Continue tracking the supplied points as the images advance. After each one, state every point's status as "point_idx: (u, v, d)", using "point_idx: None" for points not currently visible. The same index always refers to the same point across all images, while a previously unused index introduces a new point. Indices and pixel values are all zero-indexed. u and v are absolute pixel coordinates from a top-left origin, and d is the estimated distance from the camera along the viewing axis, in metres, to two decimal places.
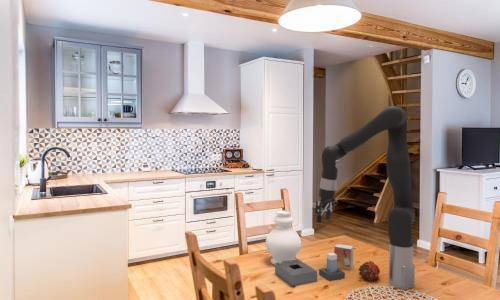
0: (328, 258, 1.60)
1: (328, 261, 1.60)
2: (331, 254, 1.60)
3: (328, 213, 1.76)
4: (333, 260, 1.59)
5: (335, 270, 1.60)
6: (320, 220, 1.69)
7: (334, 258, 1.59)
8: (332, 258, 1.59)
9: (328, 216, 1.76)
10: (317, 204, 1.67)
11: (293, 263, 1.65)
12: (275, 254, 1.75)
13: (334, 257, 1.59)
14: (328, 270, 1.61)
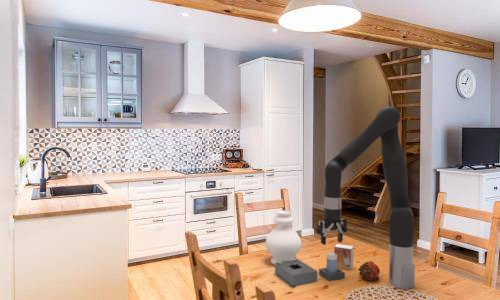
0: (328, 258, 1.60)
1: (328, 261, 1.60)
2: (331, 254, 1.60)
3: (339, 235, 1.62)
4: (333, 260, 1.59)
5: (335, 270, 1.60)
6: (324, 241, 1.58)
7: (334, 258, 1.59)
8: (332, 258, 1.59)
9: (339, 238, 1.62)
10: (318, 224, 1.58)
11: (293, 263, 1.65)
12: (275, 254, 1.75)
13: (334, 257, 1.59)
14: (328, 270, 1.61)
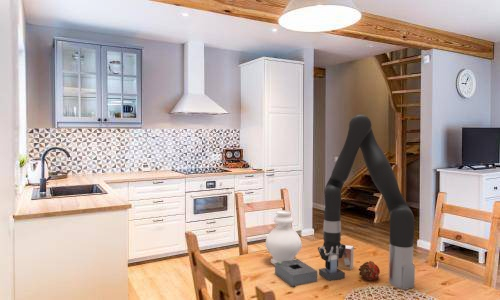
0: None
1: None
2: None
3: None
4: (333, 260, 1.59)
5: (335, 270, 1.60)
6: (328, 266, 1.59)
7: (334, 258, 1.59)
8: (332, 258, 1.59)
9: None
10: (319, 251, 1.59)
11: (293, 263, 1.65)
12: (275, 254, 1.75)
13: (334, 257, 1.59)
14: (328, 270, 1.61)
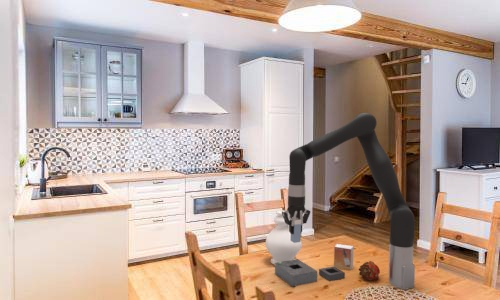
0: None
1: None
2: None
3: None
4: (297, 225, 1.58)
5: (299, 235, 1.59)
6: (292, 231, 1.58)
7: (298, 223, 1.59)
8: (296, 223, 1.58)
9: None
10: (283, 215, 1.58)
11: (293, 263, 1.65)
12: (275, 254, 1.75)
13: (298, 222, 1.59)
14: (292, 235, 1.60)
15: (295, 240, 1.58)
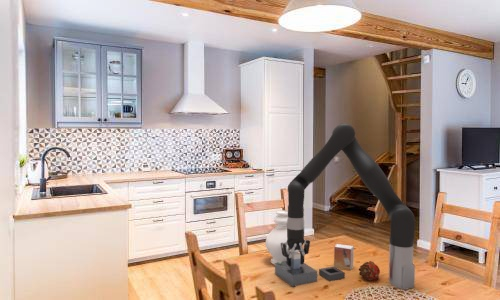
0: (292, 257, 1.60)
1: (292, 260, 1.60)
2: (294, 253, 1.60)
3: None
4: (296, 259, 1.59)
5: None
6: (289, 263, 1.58)
7: (297, 257, 1.59)
8: (295, 257, 1.59)
9: (301, 260, 1.61)
10: (281, 246, 1.58)
11: None
12: (275, 254, 1.75)
13: (297, 256, 1.59)
14: None
15: None
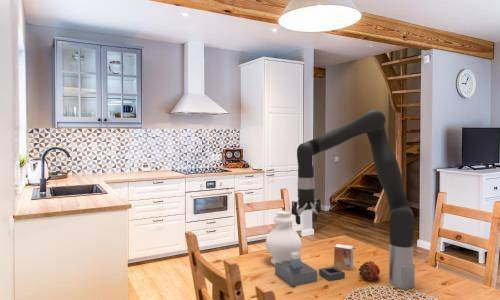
0: (292, 257, 1.60)
1: (292, 260, 1.60)
2: (294, 253, 1.60)
3: (313, 215, 1.65)
4: (296, 259, 1.59)
5: None
6: (298, 221, 1.61)
7: (297, 257, 1.59)
8: (295, 257, 1.59)
9: (314, 218, 1.65)
10: (292, 204, 1.61)
11: None
12: (275, 254, 1.75)
13: (297, 256, 1.59)
14: None
15: None
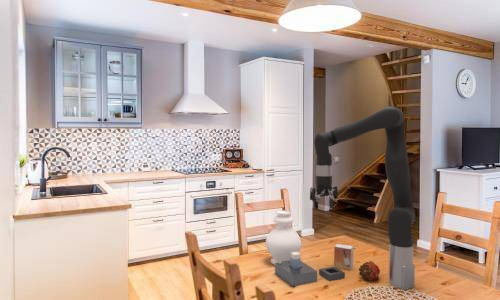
0: (292, 257, 1.60)
1: (292, 260, 1.60)
2: (294, 253, 1.60)
3: (330, 201, 1.74)
4: (296, 259, 1.59)
5: None
6: (316, 207, 1.70)
7: (297, 257, 1.59)
8: (295, 257, 1.59)
9: (331, 204, 1.74)
10: (311, 190, 1.70)
11: None
12: (275, 254, 1.75)
13: (297, 256, 1.59)
14: None
15: None
